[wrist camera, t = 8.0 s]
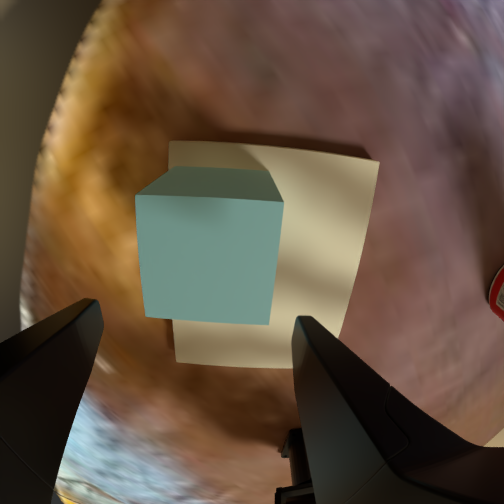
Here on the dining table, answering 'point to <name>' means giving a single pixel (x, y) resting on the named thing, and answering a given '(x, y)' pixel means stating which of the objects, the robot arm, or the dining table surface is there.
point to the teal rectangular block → (209, 244)
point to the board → (288, 248)
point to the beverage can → (497, 294)
